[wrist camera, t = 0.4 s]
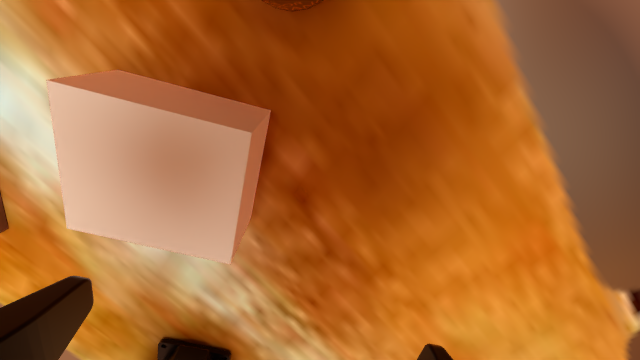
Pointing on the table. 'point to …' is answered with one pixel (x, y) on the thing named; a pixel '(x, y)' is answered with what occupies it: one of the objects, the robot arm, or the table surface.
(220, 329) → the table surface
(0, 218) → the board
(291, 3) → the beer can
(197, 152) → the block
